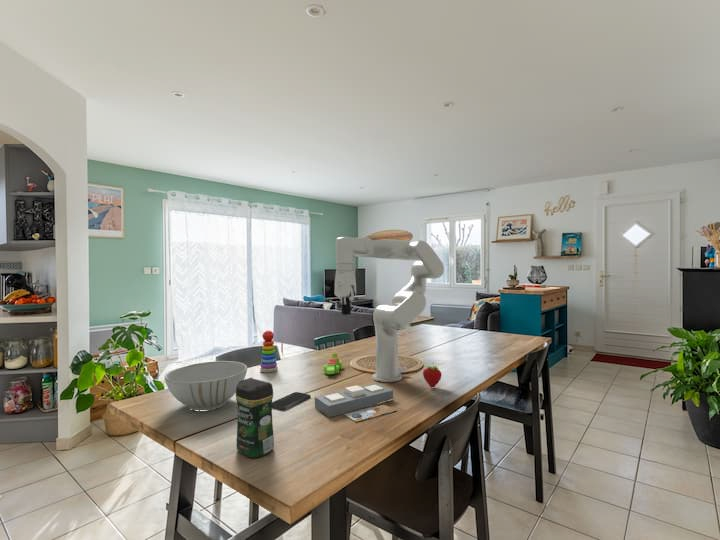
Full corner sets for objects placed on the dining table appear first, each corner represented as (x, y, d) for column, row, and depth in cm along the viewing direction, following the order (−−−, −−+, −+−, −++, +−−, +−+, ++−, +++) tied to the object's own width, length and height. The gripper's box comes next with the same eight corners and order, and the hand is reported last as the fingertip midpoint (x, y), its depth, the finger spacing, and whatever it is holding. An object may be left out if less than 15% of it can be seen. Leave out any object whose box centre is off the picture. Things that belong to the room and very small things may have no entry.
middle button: (357, 394, 132) (356, 385, 132) (364, 398, 128) (364, 388, 128) (345, 397, 130) (344, 387, 130) (352, 402, 125) (352, 391, 125)
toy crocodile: (336, 377, 160) (336, 364, 160) (321, 377, 161) (321, 363, 160) (344, 365, 179) (343, 353, 179) (330, 365, 180) (330, 353, 180)
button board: (376, 392, 140) (376, 383, 140) (393, 400, 132) (393, 390, 132) (314, 407, 126) (314, 396, 126) (328, 417, 118) (328, 405, 118)
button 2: (375, 394, 137) (375, 384, 137) (383, 397, 132) (383, 388, 132) (364, 396, 134) (363, 387, 134) (371, 400, 130) (371, 390, 130)
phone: (311, 395, 136) (283, 408, 123) (311, 398, 136) (283, 412, 123) (295, 391, 140) (266, 404, 127) (295, 394, 140) (266, 407, 127)
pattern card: (384, 404, 128) (384, 403, 128) (397, 411, 122) (397, 409, 122) (344, 415, 119) (344, 413, 119) (356, 422, 113) (356, 421, 113)
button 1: (337, 403, 128) (337, 393, 128) (344, 407, 124) (344, 397, 124) (324, 406, 125) (324, 396, 125) (331, 411, 121) (331, 400, 121)
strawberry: (426, 383, 149) (426, 359, 149) (444, 387, 145) (444, 362, 145) (420, 387, 145) (419, 362, 144) (438, 391, 140) (437, 365, 140)
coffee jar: (231, 451, 97) (230, 380, 96) (256, 439, 103) (254, 373, 103) (254, 462, 91) (253, 387, 91) (279, 449, 97) (278, 379, 97)
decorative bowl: (210, 425, 113) (210, 386, 113) (146, 414, 122) (145, 378, 122) (262, 396, 138) (262, 364, 138) (206, 388, 147) (205, 358, 147)
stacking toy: (281, 369, 173) (280, 330, 173) (268, 374, 166) (267, 332, 166) (269, 367, 177) (268, 328, 177) (256, 371, 170) (255, 331, 170)
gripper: (328, 268, 151) (329, 313, 151) (347, 268, 138) (347, 317, 138) (344, 268, 155) (344, 311, 155) (363, 268, 142) (364, 315, 142)
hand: (346, 314), depth 147 cm, fingers closed
